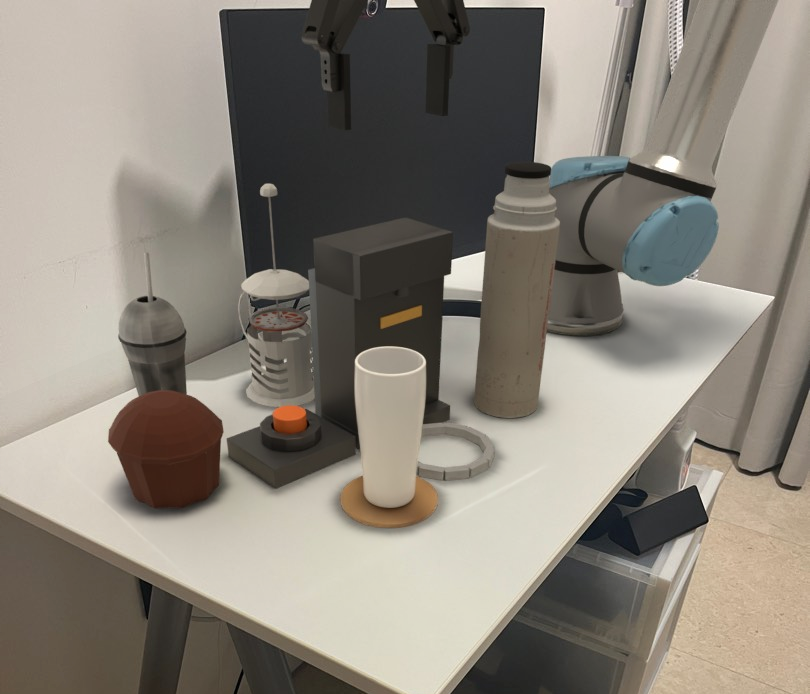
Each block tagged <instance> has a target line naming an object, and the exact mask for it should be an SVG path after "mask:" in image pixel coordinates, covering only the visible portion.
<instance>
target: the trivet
mask: <svg viewBox="0 0 810 694" xmlns="http://www.w3.org/2000/svg"><path fill="white" fill-rule="evenodd" d="M438 497H439V496H438V493H437V491H436V489H435V488H434V486H433V485H432V484H431V483H429V481H427V480H426V479H424V478H422V477H420V476H418V475H416V489H415V495H414V497H413V499H412V500H411V501H410V502H409V503H407V504H406V505H403V506H401V507H396V508H383V507H379V506H376V505H373V504H372V503H370V502H369V501H368V500H367V499H366V498H365V496H364V492H363V475H361V476H358V477H355V478H354V479H353V480H351V481H350V482H348V483H347V484H346V485H345V486H344V488H343V489H342V490H341V494H340V505H341V507H342V510H343V511H344V513H345V514H346V515H347V516H348V517H349V518H351V519H353V520H355V521H356V522H358V523H360V524H363V525H365V526H370V527H374V528H380V529H399V528H405V527H410V526H414V525H417V524H419V523H421V522H424V521H425V520H427V519H428V518H430V517H431V516H432V515H433V514H434V513H435V512H436V510H437V507H438V503H439V498H438Z"/></svg>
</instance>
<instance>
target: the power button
mask: <svg viewBox="0 0 810 694" xmlns="http://www.w3.org/2000/svg"><path fill="white" fill-rule="evenodd" d="M305 409H306V408H303V407H302V406H300V405H297V406H293V405H289V406H282V407H276V408H275V409H274V410H273V412H272V414H273V423H274V429H275V431H277V432H279V433H284V434H294V433H299V432H302V431H304V430H305V429H306V428H307V417H306V411H305Z"/></svg>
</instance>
